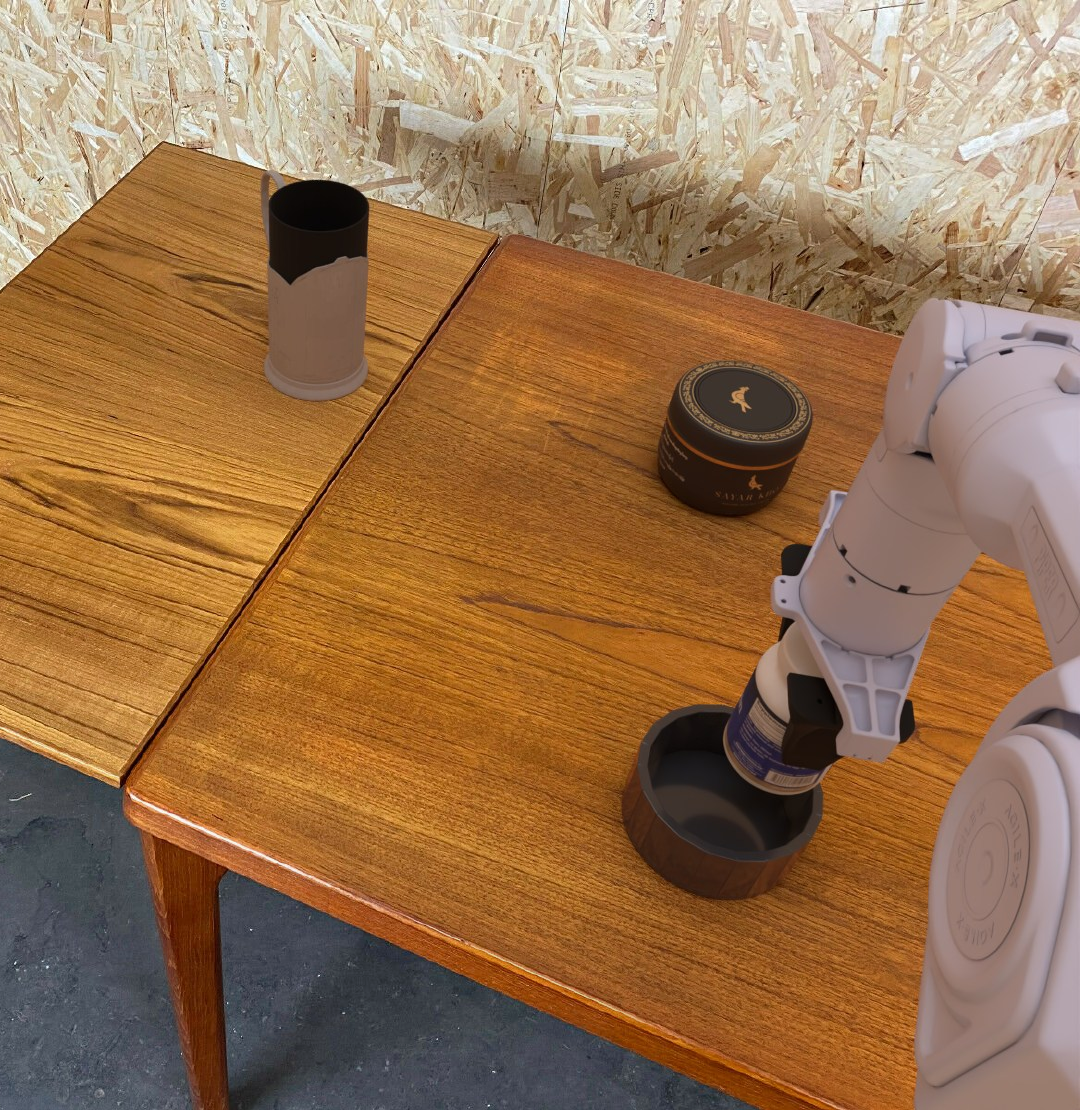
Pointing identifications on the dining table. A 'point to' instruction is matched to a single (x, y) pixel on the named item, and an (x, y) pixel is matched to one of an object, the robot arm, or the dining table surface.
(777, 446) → the jar
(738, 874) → the bowl
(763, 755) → the pill bottle
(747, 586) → the dining table surface
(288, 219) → the glass holder
